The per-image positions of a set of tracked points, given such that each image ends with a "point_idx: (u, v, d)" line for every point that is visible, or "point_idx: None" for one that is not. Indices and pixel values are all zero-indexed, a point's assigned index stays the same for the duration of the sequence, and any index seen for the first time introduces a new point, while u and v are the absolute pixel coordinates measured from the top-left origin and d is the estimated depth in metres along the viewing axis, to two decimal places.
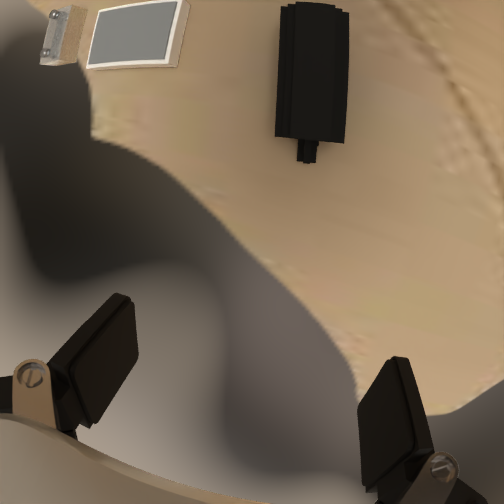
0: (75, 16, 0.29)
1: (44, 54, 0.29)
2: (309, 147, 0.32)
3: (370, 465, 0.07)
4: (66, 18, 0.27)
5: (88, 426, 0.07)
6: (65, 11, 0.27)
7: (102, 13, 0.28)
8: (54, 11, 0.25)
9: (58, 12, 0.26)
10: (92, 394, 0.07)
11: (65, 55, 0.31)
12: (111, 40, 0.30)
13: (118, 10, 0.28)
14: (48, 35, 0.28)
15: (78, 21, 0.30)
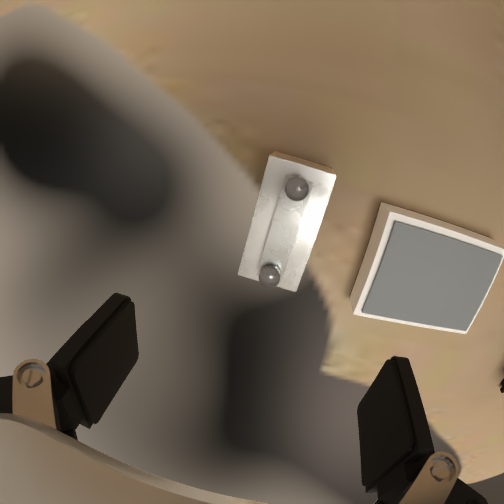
0: None
1: (274, 284, 0.23)
2: None
3: (370, 465, 0.07)
4: (322, 206, 0.21)
5: (88, 426, 0.07)
6: (316, 182, 0.21)
7: (401, 227, 0.22)
8: (304, 186, 0.19)
9: (308, 188, 0.20)
10: (92, 394, 0.07)
11: None
12: (411, 288, 0.24)
13: (431, 236, 0.21)
14: (276, 234, 0.22)
15: None
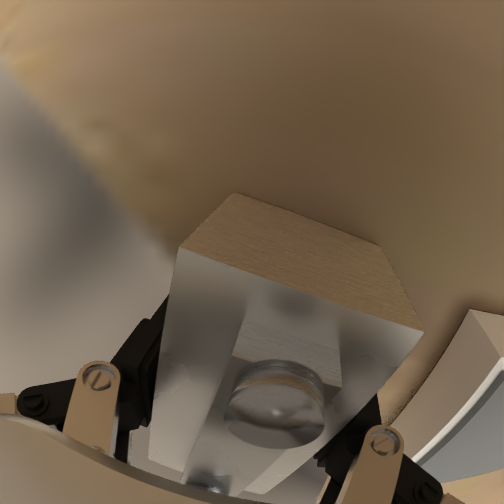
0: None
1: None
2: None
3: None
4: (352, 405, 0.06)
5: (145, 425, 0.08)
6: (351, 352, 0.05)
7: None
8: (307, 422, 0.04)
9: (324, 400, 0.05)
10: None
11: None
12: (481, 452, 0.08)
13: None
14: (211, 459, 0.06)
15: None
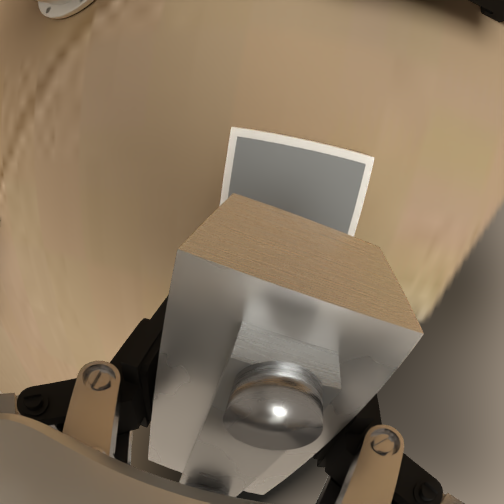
0: None
1: None
2: None
3: None
4: (352, 406, 0.06)
5: (145, 425, 0.08)
6: (350, 353, 0.05)
7: None
8: (305, 424, 0.04)
9: (323, 401, 0.05)
10: None
11: None
12: None
13: None
14: (211, 460, 0.06)
15: None
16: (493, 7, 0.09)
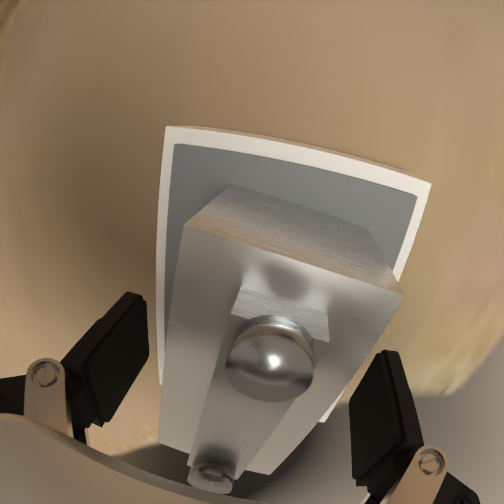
0: None
1: (220, 490, 0.08)
2: None
3: (360, 459, 0.07)
4: (345, 370, 0.07)
5: (100, 425, 0.08)
6: (338, 314, 0.06)
7: None
8: (297, 369, 0.05)
9: (313, 354, 0.06)
10: (105, 392, 0.08)
11: None
12: None
13: None
14: (217, 429, 0.07)
15: None
16: None
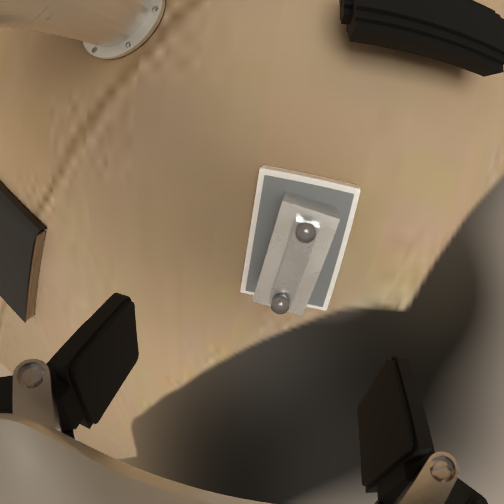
0: None
1: (283, 311, 0.26)
2: None
3: (370, 465, 0.07)
4: (326, 245, 0.25)
5: (88, 426, 0.07)
6: (322, 225, 0.24)
7: (249, 286, 0.33)
8: (312, 231, 0.23)
9: (315, 231, 0.23)
10: (92, 394, 0.07)
11: None
12: None
13: (253, 262, 0.32)
14: (286, 269, 0.25)
15: None
16: (469, 68, 0.18)
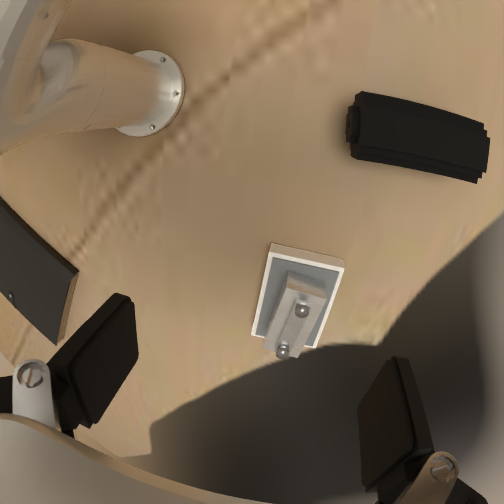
0: None
1: (285, 357, 0.36)
2: None
3: (370, 465, 0.07)
4: (316, 315, 0.35)
5: (88, 426, 0.07)
6: (313, 303, 0.34)
7: (258, 332, 0.43)
8: (306, 311, 0.33)
9: (309, 309, 0.34)
10: (92, 394, 0.07)
11: None
12: None
13: (262, 316, 0.42)
14: (287, 331, 0.35)
15: None
16: None
